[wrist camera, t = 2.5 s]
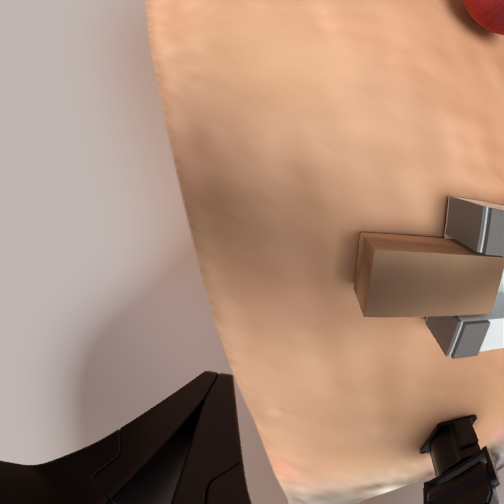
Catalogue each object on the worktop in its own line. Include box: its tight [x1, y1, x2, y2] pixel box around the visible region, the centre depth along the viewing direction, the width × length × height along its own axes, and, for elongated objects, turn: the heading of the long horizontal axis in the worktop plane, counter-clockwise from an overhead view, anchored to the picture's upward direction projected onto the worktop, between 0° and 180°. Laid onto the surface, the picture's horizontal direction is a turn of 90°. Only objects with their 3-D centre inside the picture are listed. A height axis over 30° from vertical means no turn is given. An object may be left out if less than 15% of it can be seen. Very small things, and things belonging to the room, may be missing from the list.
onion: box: [463, 0, 504, 35], centre depth 6 cm, size 6×6×8 cm
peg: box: [354, 232, 504, 317], centre depth 15 cm, size 4×10×4 cm, turn 90°
